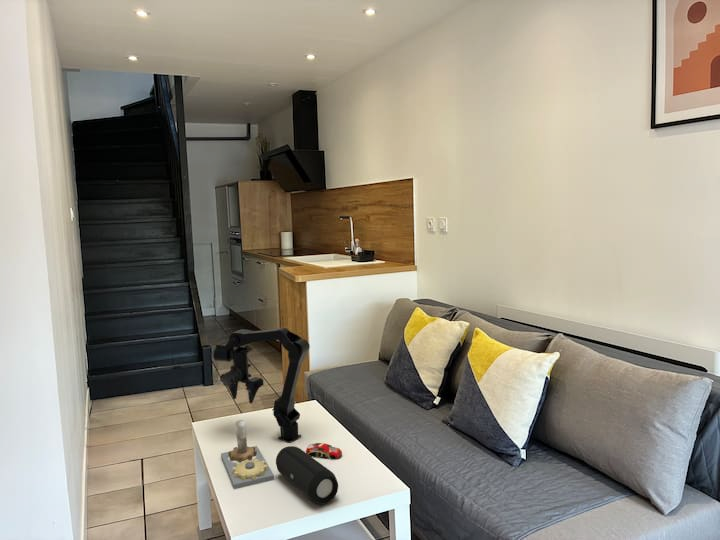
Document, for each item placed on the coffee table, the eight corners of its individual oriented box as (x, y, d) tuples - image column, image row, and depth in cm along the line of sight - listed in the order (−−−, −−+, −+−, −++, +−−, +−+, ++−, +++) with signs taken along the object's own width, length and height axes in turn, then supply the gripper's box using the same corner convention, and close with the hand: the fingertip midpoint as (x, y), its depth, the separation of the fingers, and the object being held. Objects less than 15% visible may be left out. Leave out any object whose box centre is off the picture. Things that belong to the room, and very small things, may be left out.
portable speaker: (274, 477, 178) (272, 448, 177) (300, 468, 184) (299, 440, 183) (313, 511, 157) (311, 479, 156) (341, 500, 163) (340, 469, 162)
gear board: (221, 457, 193) (220, 446, 192) (257, 449, 198) (256, 439, 198) (234, 489, 171) (233, 476, 171) (274, 479, 176) (273, 467, 176)
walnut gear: (258, 449, 195) (257, 416, 193) (254, 462, 185) (252, 427, 184) (232, 450, 195) (230, 416, 193) (225, 462, 185) (223, 428, 183)
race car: (344, 454, 193) (344, 444, 192) (338, 461, 188) (338, 450, 187) (310, 449, 197) (310, 439, 197) (304, 456, 192) (304, 446, 192)
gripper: (208, 364, 208) (210, 403, 210) (241, 371, 198) (244, 412, 200) (230, 357, 217) (232, 394, 219) (263, 363, 207) (265, 403, 209)
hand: (242, 401), depth 212 cm, fingers open, 9 cm apart
